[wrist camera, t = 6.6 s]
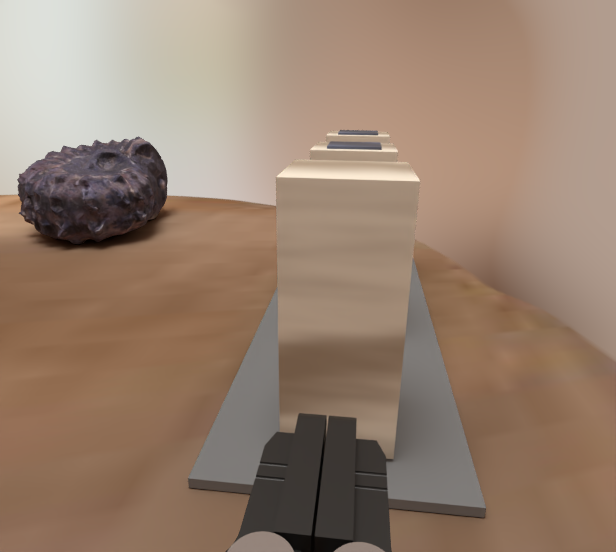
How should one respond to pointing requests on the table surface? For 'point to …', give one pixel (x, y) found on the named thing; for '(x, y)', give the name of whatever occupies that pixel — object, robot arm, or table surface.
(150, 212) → the dark grey rough lump
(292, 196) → the plain block
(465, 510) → the gray mat
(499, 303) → the table surface
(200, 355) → the table surface
